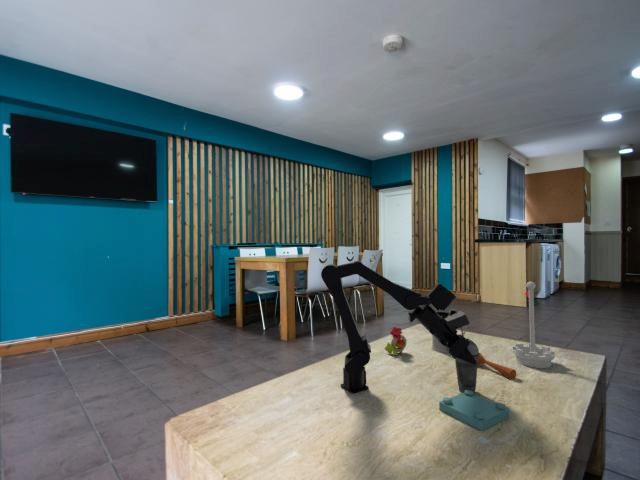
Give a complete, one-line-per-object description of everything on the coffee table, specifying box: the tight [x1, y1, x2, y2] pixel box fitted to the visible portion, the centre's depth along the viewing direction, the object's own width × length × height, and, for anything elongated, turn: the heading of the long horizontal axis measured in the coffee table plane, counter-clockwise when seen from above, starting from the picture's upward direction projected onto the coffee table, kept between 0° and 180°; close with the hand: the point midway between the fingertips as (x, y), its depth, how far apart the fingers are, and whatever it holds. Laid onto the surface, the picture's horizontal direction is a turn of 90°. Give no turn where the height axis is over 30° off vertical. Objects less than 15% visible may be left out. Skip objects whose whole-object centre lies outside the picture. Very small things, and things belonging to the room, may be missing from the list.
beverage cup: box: [454, 326, 480, 395], centre depth 98 cm, size 7×7×20 cm
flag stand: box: [512, 281, 556, 369], centre depth 121 cm, size 13×13×30 cm
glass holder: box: [431, 311, 467, 354], centre depth 136 cm, size 9×14×15 cm, turn 51°
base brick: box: [438, 390, 511, 432], centre depth 85 cm, size 12×12×3 cm
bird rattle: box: [384, 326, 408, 356], centre depth 133 cm, size 6×11×9 cm
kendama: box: [477, 352, 517, 380], centre depth 115 cm, size 6×6×20 cm
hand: (471, 359), depth 98 cm, fingers closed on beverage cup, 7 cm apart
